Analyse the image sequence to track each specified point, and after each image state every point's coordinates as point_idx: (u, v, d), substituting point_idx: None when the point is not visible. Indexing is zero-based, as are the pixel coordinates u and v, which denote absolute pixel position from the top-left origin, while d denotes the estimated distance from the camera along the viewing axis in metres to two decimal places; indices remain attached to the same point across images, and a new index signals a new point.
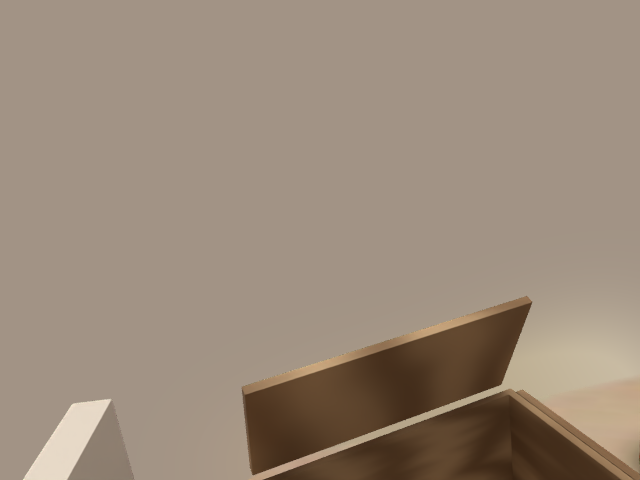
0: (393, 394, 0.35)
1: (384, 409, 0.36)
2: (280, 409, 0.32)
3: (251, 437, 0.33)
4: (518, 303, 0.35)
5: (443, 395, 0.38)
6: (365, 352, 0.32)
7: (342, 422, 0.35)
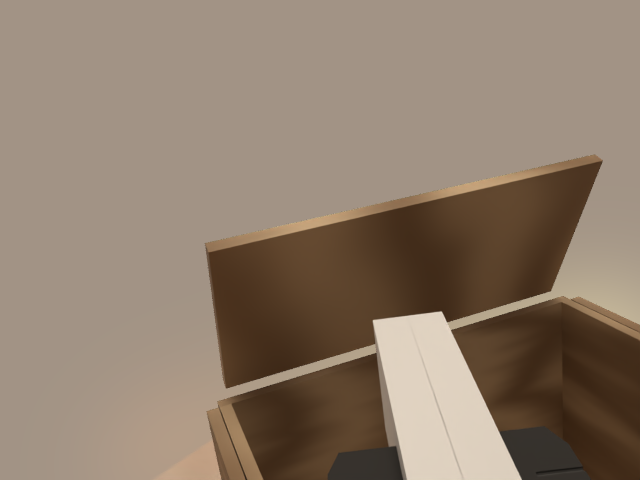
0: (415, 284, 0.27)
1: (402, 307, 0.27)
2: (261, 285, 0.23)
3: (221, 327, 0.24)
4: (584, 161, 0.26)
5: (478, 296, 0.29)
6: (379, 209, 0.23)
7: (346, 319, 0.26)
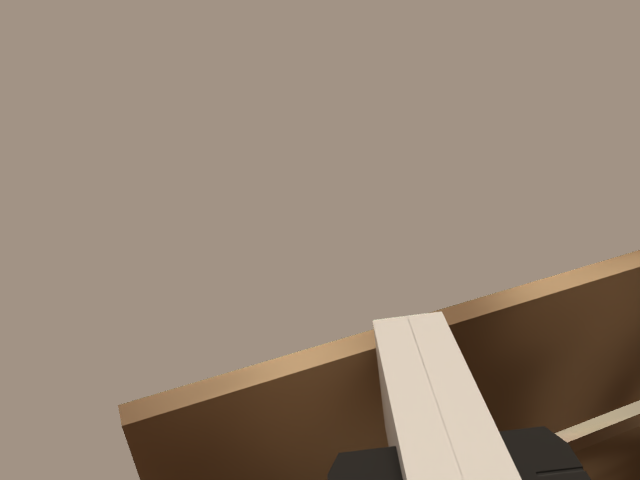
0: None
1: None
2: (221, 455, 0.14)
3: None
4: None
5: (549, 419, 0.20)
6: None
7: None
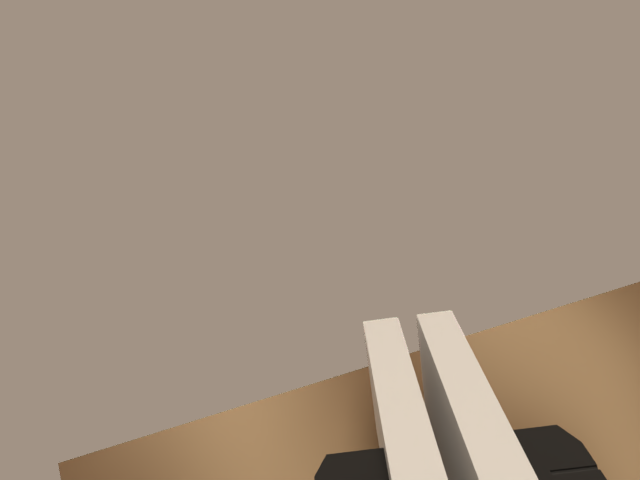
0: None
1: None
2: None
3: None
4: None
5: None
6: (349, 372, 0.15)
7: None
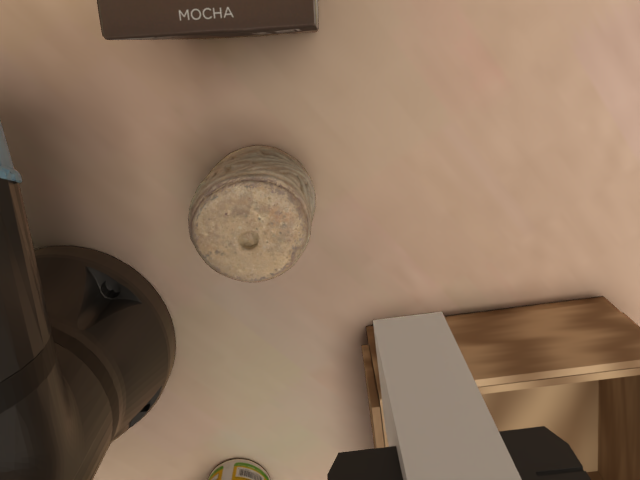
0: None
1: None
2: None
3: None
4: None
5: None
6: None
7: None
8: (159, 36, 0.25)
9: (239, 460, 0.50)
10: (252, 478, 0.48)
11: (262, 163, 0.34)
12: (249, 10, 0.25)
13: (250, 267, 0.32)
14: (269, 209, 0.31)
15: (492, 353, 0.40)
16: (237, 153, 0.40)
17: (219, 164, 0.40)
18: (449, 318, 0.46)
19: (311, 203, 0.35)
